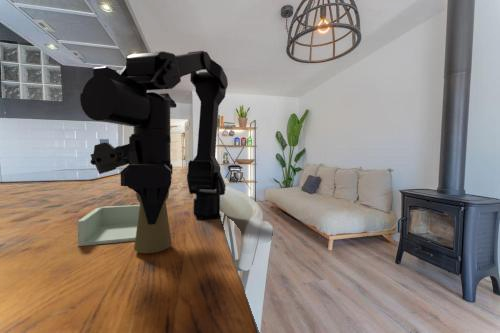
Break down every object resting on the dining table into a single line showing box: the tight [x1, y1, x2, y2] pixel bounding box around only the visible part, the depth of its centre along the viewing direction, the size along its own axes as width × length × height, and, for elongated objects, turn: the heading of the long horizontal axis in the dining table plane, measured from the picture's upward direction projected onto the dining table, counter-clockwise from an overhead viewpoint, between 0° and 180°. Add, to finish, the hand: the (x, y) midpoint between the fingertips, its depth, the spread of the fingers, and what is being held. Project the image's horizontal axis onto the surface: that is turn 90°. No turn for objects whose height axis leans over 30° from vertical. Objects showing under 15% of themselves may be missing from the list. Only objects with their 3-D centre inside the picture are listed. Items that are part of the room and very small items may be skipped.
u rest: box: [77, 204, 140, 247], centre depth 46 cm, size 11×11×5 cm
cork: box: [133, 190, 173, 254], centre depth 38 cm, size 6×6×11 cm
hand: (153, 219), depth 38 cm, fingers closed on cork, 4 cm apart
